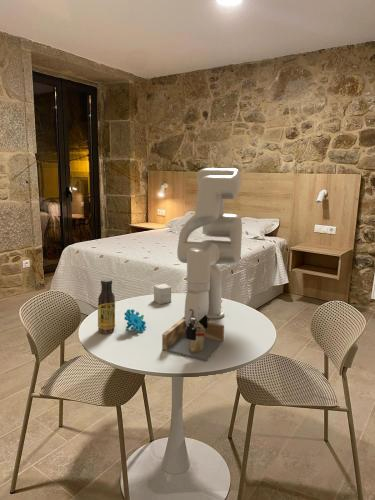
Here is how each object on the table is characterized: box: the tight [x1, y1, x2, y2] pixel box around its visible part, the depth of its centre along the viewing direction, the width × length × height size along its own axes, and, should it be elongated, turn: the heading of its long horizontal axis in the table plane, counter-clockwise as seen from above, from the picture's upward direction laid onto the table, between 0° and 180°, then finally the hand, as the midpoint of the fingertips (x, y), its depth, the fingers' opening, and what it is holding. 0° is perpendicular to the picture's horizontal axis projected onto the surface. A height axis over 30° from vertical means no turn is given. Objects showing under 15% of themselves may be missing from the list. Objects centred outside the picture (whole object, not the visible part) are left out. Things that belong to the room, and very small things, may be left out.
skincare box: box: [153, 283, 172, 305], centre depth 169 cm, size 6×6×7 cm
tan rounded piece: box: [189, 321, 205, 353], centre depth 124 cm, size 6×8×10 cm
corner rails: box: [161, 316, 225, 352], centre depth 127 cm, size 16×16×6 cm
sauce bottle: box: [97, 278, 116, 334], centre depth 136 cm, size 6×6×20 cm
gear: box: [123, 308, 147, 333], centre depth 140 cm, size 11×6×10 cm
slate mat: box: [163, 333, 225, 362], centre depth 128 cm, size 16×16×1 cm
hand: (197, 333), depth 124 cm, fingers open, 9 cm apart
